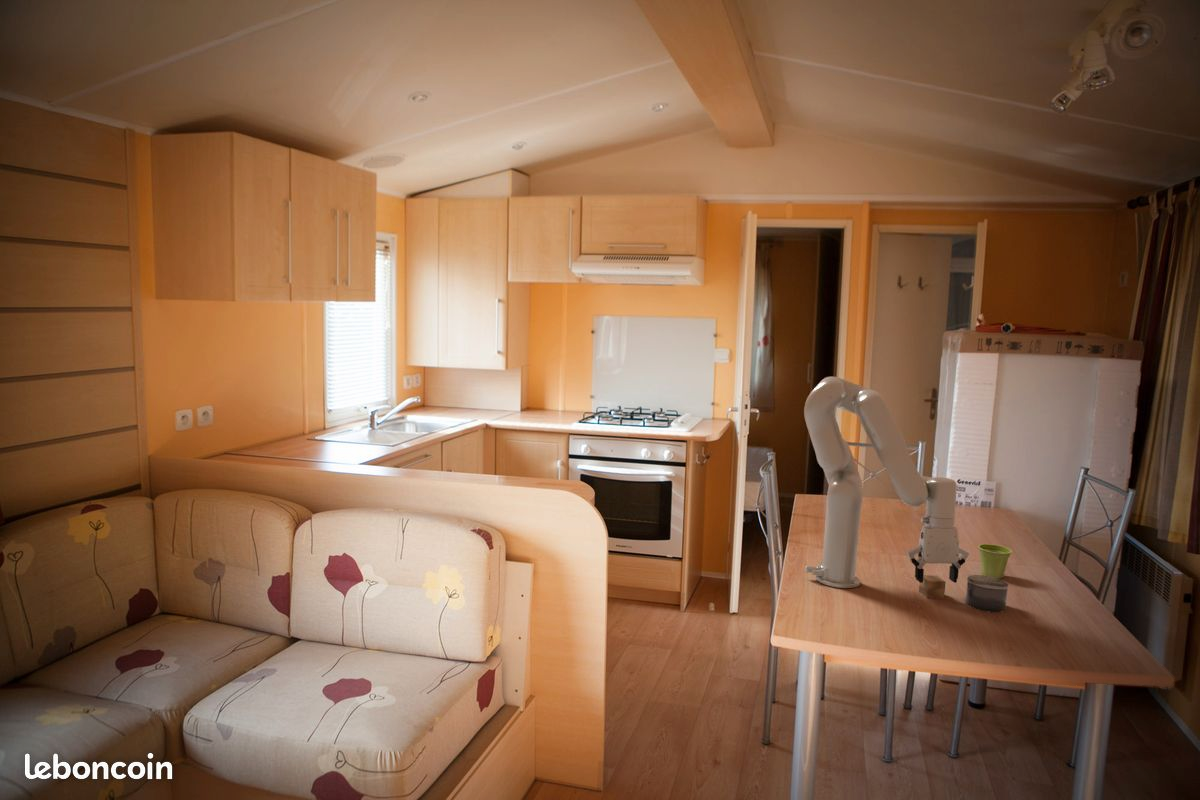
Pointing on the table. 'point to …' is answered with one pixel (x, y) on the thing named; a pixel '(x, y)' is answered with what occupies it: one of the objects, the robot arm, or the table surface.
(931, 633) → the table surface
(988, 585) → the black tin
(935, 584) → the walnut block
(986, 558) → the plant pot
